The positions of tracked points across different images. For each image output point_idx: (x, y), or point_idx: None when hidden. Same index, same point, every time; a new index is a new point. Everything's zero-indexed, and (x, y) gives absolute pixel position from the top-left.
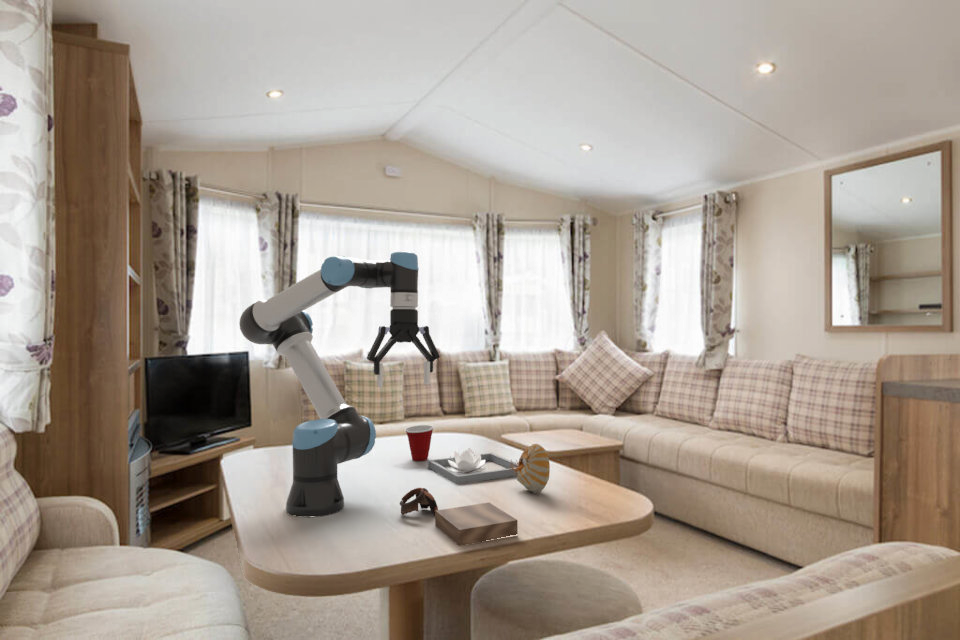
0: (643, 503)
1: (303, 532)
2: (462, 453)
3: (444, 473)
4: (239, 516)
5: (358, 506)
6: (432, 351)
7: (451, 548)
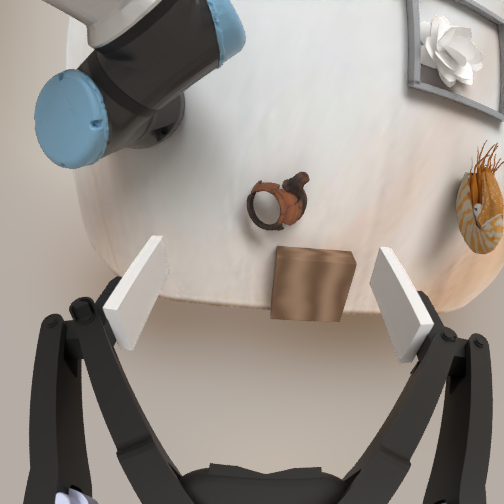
0: (488, 285)
1: (125, 181)
2: (457, 50)
3: (411, 35)
4: None
5: (210, 104)
6: (448, 397)
7: (266, 297)
